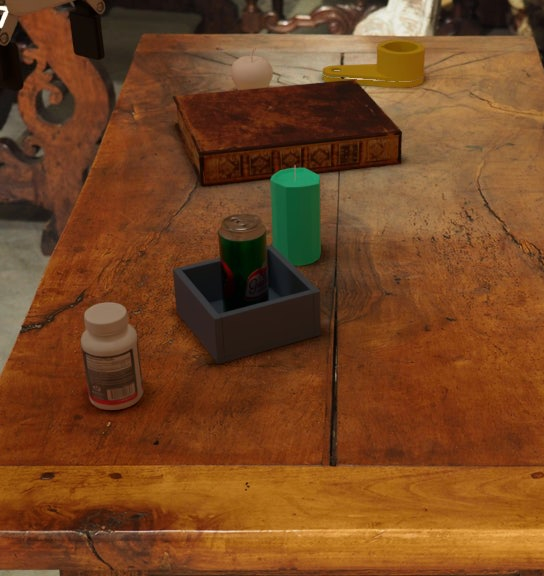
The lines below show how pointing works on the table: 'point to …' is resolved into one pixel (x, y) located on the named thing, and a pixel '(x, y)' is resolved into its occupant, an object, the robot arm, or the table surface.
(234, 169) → the book
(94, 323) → the pill bottle
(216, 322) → the bin
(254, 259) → the soda can
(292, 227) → the candle
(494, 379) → the table surface
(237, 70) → the apple
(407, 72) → the crank
